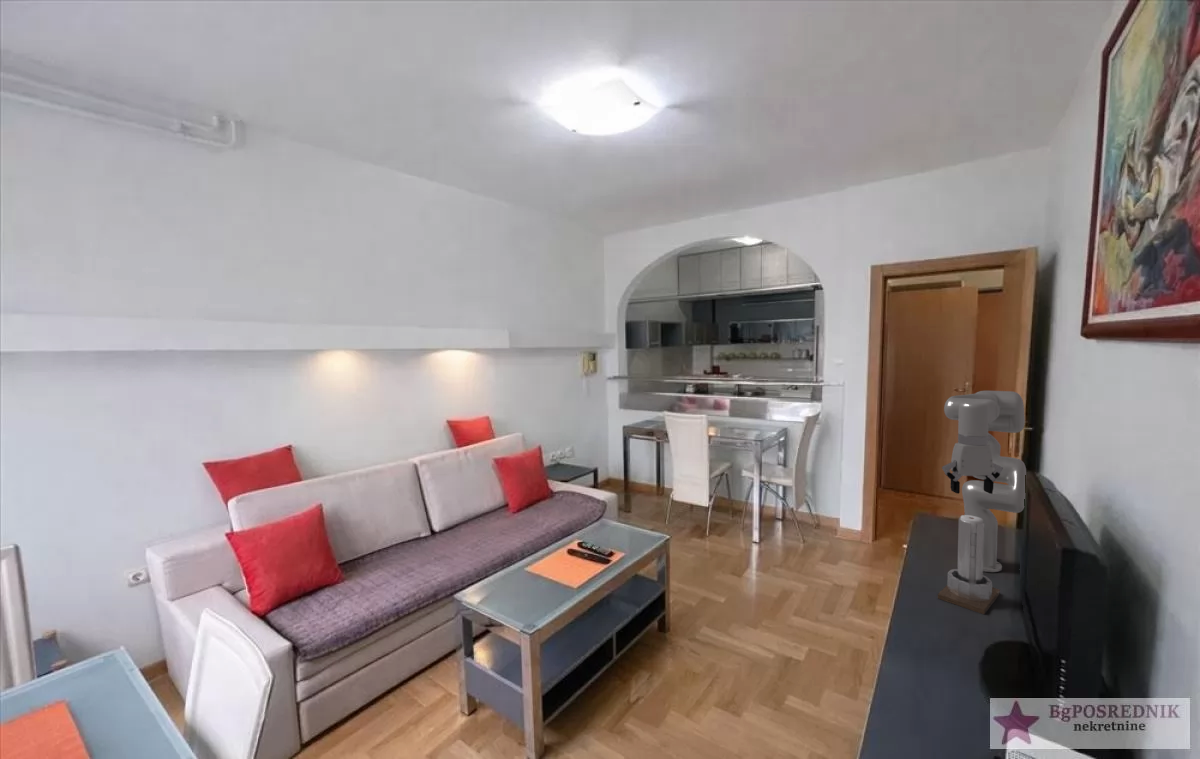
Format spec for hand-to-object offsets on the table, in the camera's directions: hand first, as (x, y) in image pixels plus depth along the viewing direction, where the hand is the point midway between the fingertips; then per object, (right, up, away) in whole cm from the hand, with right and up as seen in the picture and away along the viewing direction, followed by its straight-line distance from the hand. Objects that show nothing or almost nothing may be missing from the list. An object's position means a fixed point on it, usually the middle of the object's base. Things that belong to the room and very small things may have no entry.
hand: (971, 492), depth 150 cm
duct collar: (+1, -35, +2) cm, 35 cm away
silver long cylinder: (+1, -33, +2) cm, 34 cm away
